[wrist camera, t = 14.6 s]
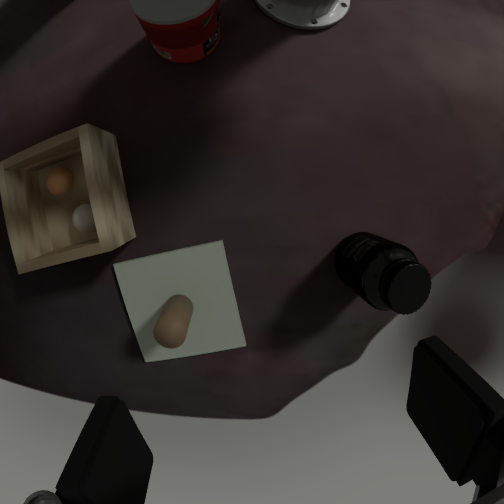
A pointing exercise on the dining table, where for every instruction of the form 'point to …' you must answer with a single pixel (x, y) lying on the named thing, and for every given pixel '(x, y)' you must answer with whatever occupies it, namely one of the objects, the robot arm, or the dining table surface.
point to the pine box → (65, 199)
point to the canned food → (180, 27)
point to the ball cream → (84, 219)
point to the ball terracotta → (59, 180)
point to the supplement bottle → (383, 273)
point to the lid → (181, 302)
